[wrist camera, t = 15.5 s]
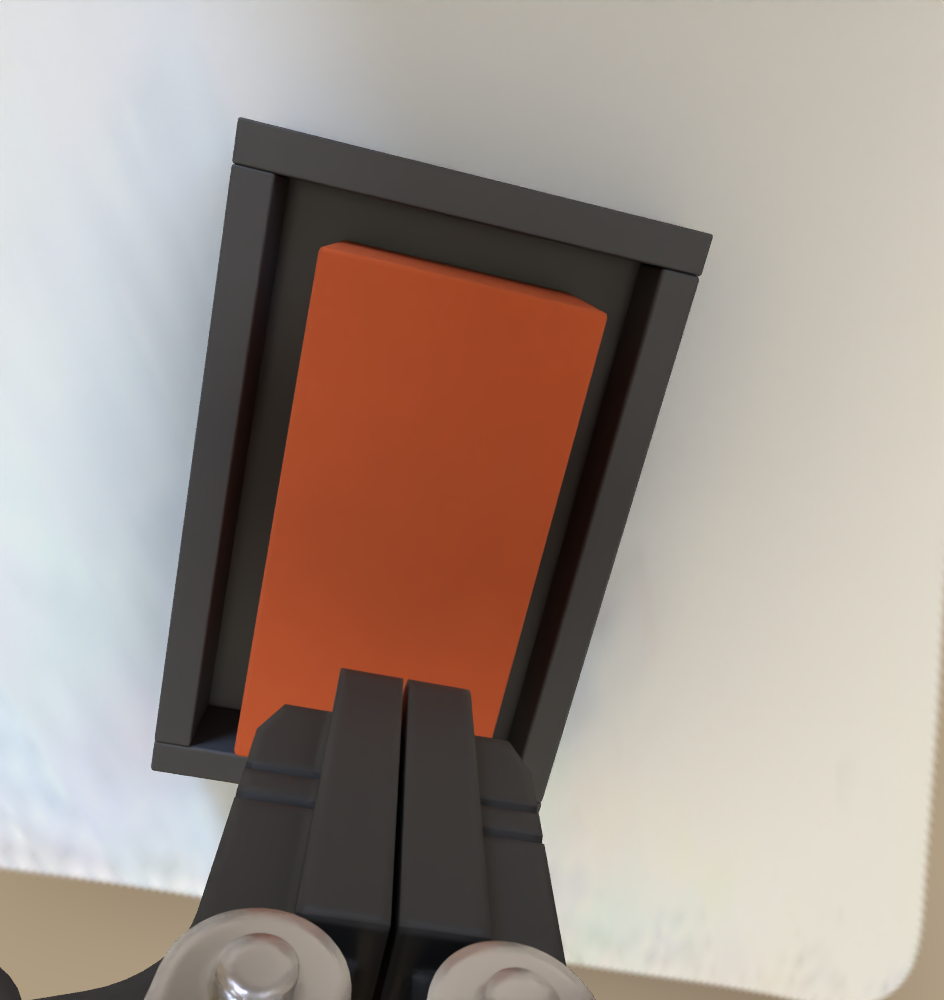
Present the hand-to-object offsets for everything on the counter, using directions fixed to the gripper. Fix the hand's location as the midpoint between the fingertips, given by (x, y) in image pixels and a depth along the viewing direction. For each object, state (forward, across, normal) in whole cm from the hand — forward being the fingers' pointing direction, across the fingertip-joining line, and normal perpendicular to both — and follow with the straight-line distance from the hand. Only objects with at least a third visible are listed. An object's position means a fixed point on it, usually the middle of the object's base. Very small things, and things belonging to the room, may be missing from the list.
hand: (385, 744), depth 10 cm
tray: (+11, 0, 0) cm, 11 cm away
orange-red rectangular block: (+10, 0, 0) cm, 10 cm away
